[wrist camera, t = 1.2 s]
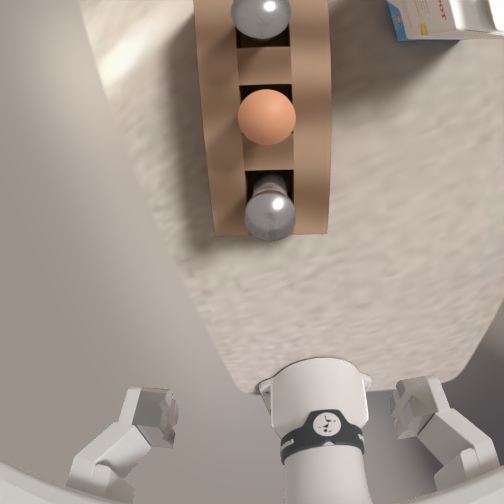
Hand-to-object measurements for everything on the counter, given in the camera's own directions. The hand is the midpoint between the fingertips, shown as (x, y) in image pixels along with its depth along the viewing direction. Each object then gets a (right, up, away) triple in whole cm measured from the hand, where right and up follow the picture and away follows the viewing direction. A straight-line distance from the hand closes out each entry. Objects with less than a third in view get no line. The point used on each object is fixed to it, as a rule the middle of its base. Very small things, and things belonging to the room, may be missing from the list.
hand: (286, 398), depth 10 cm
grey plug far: (0, +11, +18) cm, 21 cm away
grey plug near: (0, +23, +10) cm, 25 cm away
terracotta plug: (0, +17, +14) cm, 22 cm away
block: (0, +19, +18) cm, 26 cm away
